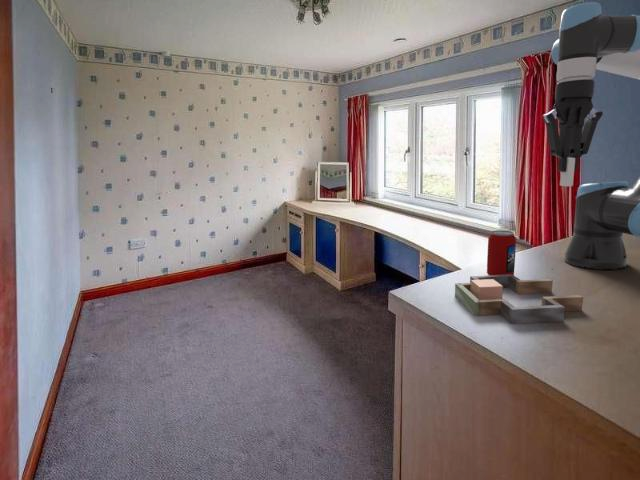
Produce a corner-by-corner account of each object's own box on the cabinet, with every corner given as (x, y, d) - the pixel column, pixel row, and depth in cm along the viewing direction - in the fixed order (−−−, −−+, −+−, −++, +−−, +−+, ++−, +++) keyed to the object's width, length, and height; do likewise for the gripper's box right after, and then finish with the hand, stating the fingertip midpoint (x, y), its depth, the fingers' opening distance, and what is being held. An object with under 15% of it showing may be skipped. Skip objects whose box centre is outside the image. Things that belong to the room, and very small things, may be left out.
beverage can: (516, 280, 109) (519, 235, 106) (489, 279, 110) (491, 235, 108) (510, 272, 116) (513, 229, 113) (484, 272, 117) (486, 229, 114)
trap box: (538, 284, 105) (539, 273, 105) (597, 319, 84) (598, 305, 83) (448, 288, 105) (448, 277, 104) (484, 325, 83) (485, 311, 83)
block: (491, 299, 97) (492, 279, 96) (501, 307, 92) (502, 286, 91) (470, 300, 97) (471, 280, 96) (478, 309, 92) (479, 287, 91)
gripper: (592, 82, 99) (583, 183, 104) (537, 84, 99) (530, 185, 104) (615, 76, 92) (604, 185, 97) (556, 79, 91) (547, 188, 96)
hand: (566, 185), depth 100 cm, fingers closed
